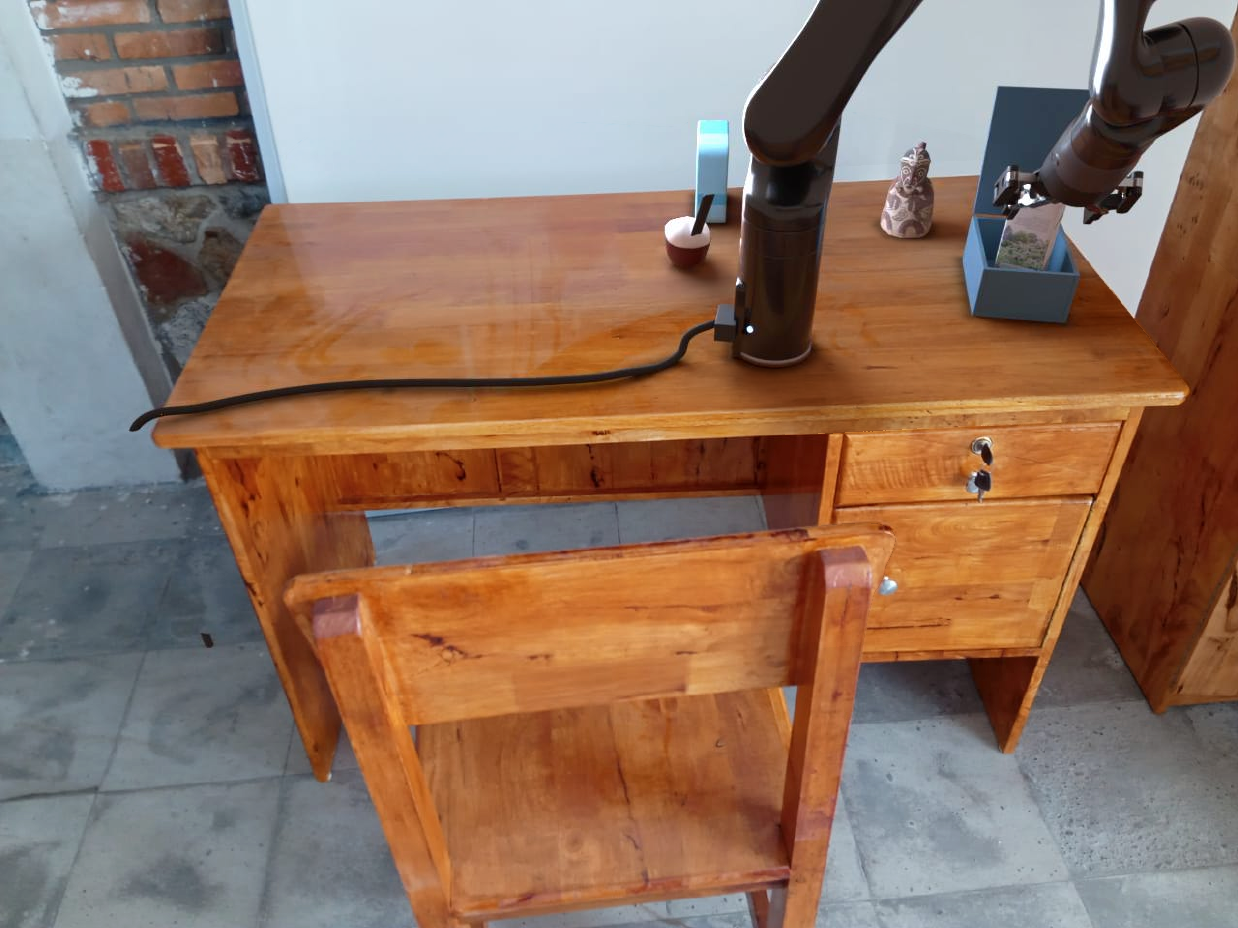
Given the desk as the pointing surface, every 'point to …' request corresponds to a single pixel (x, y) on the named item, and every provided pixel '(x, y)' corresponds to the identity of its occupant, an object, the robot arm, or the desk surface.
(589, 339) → the desk surface
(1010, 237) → the syrup box
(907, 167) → the figurine
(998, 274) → the box
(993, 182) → the lunchbox lid
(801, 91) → the robot arm
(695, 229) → the ice cream cup
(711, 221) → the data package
